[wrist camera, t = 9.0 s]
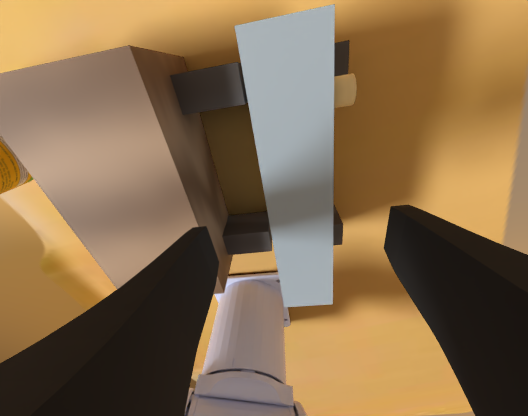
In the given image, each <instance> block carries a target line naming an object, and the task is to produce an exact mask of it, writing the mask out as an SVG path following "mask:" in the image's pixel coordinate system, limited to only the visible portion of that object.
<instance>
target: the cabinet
mask: <svg viewBox="0 0 528 416" xmlns="http://www.w3.org/2000/svg"><path fill="white" fill-rule="evenodd" d="M348 63H349V40H348V41H343V42H338V43H334V77H335V76H341V75H346V74H348ZM247 102H248V99H247V94H246V88H245V82H244V77H243V71H242V66H241V63H238V62H236V63H230V64H225V65H220V66H215V67H210V68H205V69H200V70H195V71H189V72H187V68H186V65H185V61H184V58H183V57H180V56H175V55H171V54H166V53H162V52H157V51H152V50H148V49H143V48H138V47H134V46H124V47H120V48H115V49H110V50H106V51H101V52H97V53H92V54H87V55H83V56H78V57H74V58H69V59H64V60H60V61H55V62H51V63H46V64H41V65H37V66H32V67H28V68H23V69H18V70H14V71H9V72H5V73H0V135H1V136H2V138H3V139H4V140H5V142H6V143H7V144H8V146H9V147H10V148H11V150H12V151H13V152H14V153H15V155H16V156H17V157H18V159H19V160H20V161H21V163H22V164H23V165H24V167H25V168H26V169H27V171H28V172H29V173H30V175H31V176H32V177H33V179H34V180H35V181H36V183H37V184H38V185H39V187H40V188H41V189H42V190H43V192H44V193H45V194H46V196H47V197H48V198H49V200H50V201H51V202H52V204H53V205H54V206H55V208H56V209H57V210H58V212H59V213H60V214H61V216H62V217H63V218H64V220H65V221H66V222H67V224H68V225H69V226H70V228H71V229H72V230H73V231H74V233H75V234H76V235H77V237H78V238H79V239H80V241H81V242H82V243H83V245H84V246H85V247H86V249H87V250H88V251H89V253H90V254H91V255H92V257H93V258H94V259H95V261H96V262H97V263H98V265H99V266H100V267H101V269H102V270H103V271H104V272H105V274H106V275H107V276H108V278H109V279H110V280H111V282H112V283H113V284H114V286H115V287H116V288H117V289H118V288H120V287H121V286H122V285H124V284H125V283H126V282H128V281H129V280H130V279H131V278H133V277H134V276H135V275H136V274H138V273H139V272H140V271H141V270H142V269H144V268H145V267H146V266H147V265H149V264H150V263H151V262H152V261H154V260H155V259H156V258H157V257H158V256H159V255H160V254H162V253H163V252H164V251H165V250H166V249H167V248H169V247H170V246H171V245H172V244H173V243H174V242H175V241H177V240H178V239H179V238H180V237H181V236H182V235H184V234H185V233H186V232H187V231H189V230H190V229H191V228H193V227H202V226H207V229H208V231H209V234H210V237H211V240H212V243H213V246H214V248H215V251H216V254H217V257H218V260H219V268H218V275H217V281H216V286H215V290H214V293H213V294H221V293H224V292H225V287H226V283H227V278H228V274H229V270H230V265H231V261H232V257H233V254H244V253H255V252H266V251H272V235H271V229H270V223H269V218H268V212H267V211H265V212H256V213H247V214H238V215H228V211H227V208H226V204H225V201H224V197H223V194H222V190H221V187H220V183H219V180H218V176H217V173H216V169H215V166H214V162H213V159H212V155H211V152H210V148H209V145H208V141H207V138H206V134H205V131H204V127H203V124H202V120H201V117H200V113H199V112H204V111H210V110H216V109H222V108H227V107H233V106H239V105H245V104H246V103H247ZM342 237H343V223H342V221H341V219H340V217H339V214H338V212H337V210H336V208H335V206H334V204H333V245H342Z"/></svg>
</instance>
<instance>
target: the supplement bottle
mask: <svg viewBox="0 0 528 416" xmlns="http://www.w3.org/2000/svg"><path fill="white" fill-rule="evenodd" d="M32 180H34V179H33V177H32V176H31V175H30V173H29V172H28V171H27V169H26V168H25V167H24V165H23V164H22V163H21V161H20V160H19V159H18V157H17V156H16V155H15V153H14V152H13V151H12V150H11V148H10V147H9V146H8V144H7V143H6V142H5V140H4V139H3V138H2V136H1V135H0V194H2V193H4V192H6V191H9V190H11V189H14V188H16V187H18V186H21V185H23V184H25V183H27V182H30V181H32Z"/></svg>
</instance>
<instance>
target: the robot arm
mask: <svg viewBox="0 0 528 416" xmlns="http://www.w3.org/2000/svg"><path fill="white" fill-rule="evenodd" d="M384 250H385V252H386V254H387V257H388V259H389V261H390V263H391V265H392V267H393V269H394V272H395V273H396V275H397V276H398V278H399V280H400V281H401V283H402V284H403V286H404V288H405V289H406V291H407V292H408V294H409V296H410V297H411V299H412V300H413V302H414V303H415V305H416V307H417V308H418V310H419V311H420V313H421V314H422V316H423V318H424V319H425V321H426V322H427V324H428V325H429V327H430V329H431V330H432V332H433V334H434V335H435V337H436V339H437V341H438V342H439V344H440V346H441V348H442V350H443V352H444V354H445V356H446V357H447V359H448V361H449V363H450V365H451V367H452V369H453V371H454V373H455V375H456V377H457V379H458V381H459V383H460V385H461V387H462V389H463V391H464V393H465V395H466V397H467V399H468V402H469V404H470V406H471V408H472V410H473V412H474V414H475V416H528V255H527V254H524V253H521V252H519V251H516V250H514V249H511V248H509V247H506V246H504V245H501V244H499V243H496V242H494V241H492V240H489V239H487V238H485V237H482V236H480V235H478V234H475V233H473V232H471V231H468V230H466V229H464V228H461V227H459V226H457V225H455V224H453V223H450V222H448V221H446V220H444V219H441V218H439V217H437V216H435V215H432V214H430V213H428V212H426V211H423V210H421V209H418V208H416V207H413V206H410V205H400V206H391V208H390V214H389V220H388V226H387V232H386V238H385V244H384ZM218 268H219V260H218V257H217V254H216V251H215V248H214V246H213V243H212V240H211V237H210V234H209V231H208V229H207V226H202V227H193V228H191V229H190V230H189V231H187V232H186V233H185V234H184V235H182V236H181V237H180V238H179V239H178V240H177V241H175V242H174V243H173V244H172V245H171V246H170V247H169V248H167V249H166V250H165V251H164V252H163V253H162V254H160V255H159V256H158V257H157V258H156V259H155V260H154V261H152V262H151V263H150V264H149V265H147V266H146V267H145V268H144V269H142V270H141V271H140V272H139V273H138V274H136V275H135V276H134V277H133V278H131V279H130V280H129V281H128V282H126V283H125V284H124V285H122V286H121V287H120V288H118V289H117V290H116V291H114V292H113V293H112V294H110V295H109V296H108V297H106V298H105V299H103V300H102V301H100V302H99V303H98V304H96V305H95V306H93V307H92V308H90V309H89V310H87V311H86V312H85V313H83V314H81V315H80V316H78V317H77V318H75V319H73V320H72V321H70V322H69V323H67V324H66V325H64V326H62V327H61V328H59V329H58V330H56V331H54V332H53V333H51V334H50V335H48V336H47V337H45V338H43V339H42V340H40V341H38V342H37V343H35V344H33V345H31V346H30V347H28V348H26V349H25V350H23V351H21V352H20V353H18V354H16V355H14V356H13V357H11V358H9V359H7V360H6V361H4V362H2V363H0V416H307V414H306V412H305V411H304V409H303V407H302V405H301V404H300V403H299V402H297V401H293V387H292V386H289V385H286V368H285V343H284V327H288V326H290V317H289V311H288V307H284V302H283V297H282V291H281V285H280V280H279V274H278V272H273V273H261V274H249V275H236V276H228V278H227V283H226V287H225V292H224V293H221V294H215V296H216V299H217V301H218V303H219V305H218V309H217V313H216V317H215V321H214V325H213V329H212V334H211V338H210V342H209V346H208V350H207V354H206V358H205V362H204V367H203V371H202V374H199V375H198V379H197V384H196V387H195V391H194V388H189V387H190V381H191V376H192V371H193V366H194V361H195V356H196V352H197V348H198V344H199V340H200V337H201V333H202V330H203V327H204V323H205V320H206V317H207V313H208V310H209V307H210V303H211V300H212V297H213V293H214V290H215V286H216V281H217V275H218Z"/></svg>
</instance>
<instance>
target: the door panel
mask: <svg viewBox="0 0 528 416" xmlns="http://www.w3.org/2000/svg"><path fill="white" fill-rule="evenodd" d="M334 27H335V4H333V5H329V6H324V7H319V8H315V9H310V10H306V11H301V12H296V13H292V14H287V15H282V16H278V17H273V18H269V19H264V20H259V21H255V22H250V23H245V24H241V25H236V26H235V32H236V37H237V43H238V49H239V54H240V60H241V66H242V71H243V77H244V82H245V88H246V94H247V99H248V105H249V111H250V116H251V122H252V128H253V133H254V139H255V144H256V150H257V156H258V161H259V167H260V173H261V178H262V184H263V190H264V195H265V201H266V206H267V212H268V218H269V223H270V229H271V235H272V240H273V246H274V252H275V257H276V263H277V268H278V274H279V280H280V285H281V291H282V297H283V302H284V307H298V306H314V305H329V304H333V197H334V108H339V107H345V106H351V105H353V104H354V102H355V99H356V91H357V84H356V78H355V75H354V74H353V73H352V74H346V75H341V76H335V77H334Z"/></svg>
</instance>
